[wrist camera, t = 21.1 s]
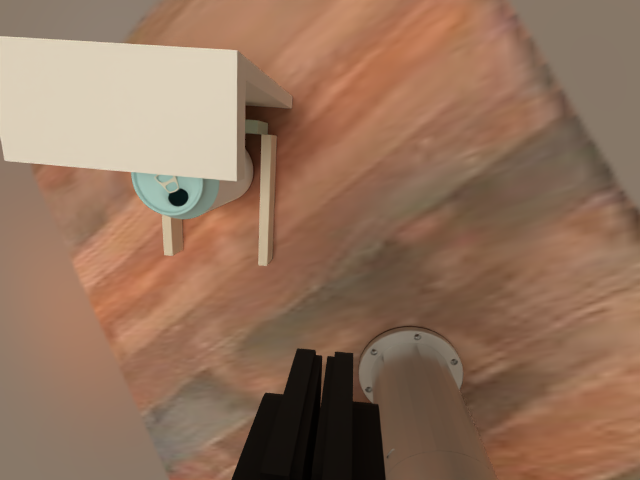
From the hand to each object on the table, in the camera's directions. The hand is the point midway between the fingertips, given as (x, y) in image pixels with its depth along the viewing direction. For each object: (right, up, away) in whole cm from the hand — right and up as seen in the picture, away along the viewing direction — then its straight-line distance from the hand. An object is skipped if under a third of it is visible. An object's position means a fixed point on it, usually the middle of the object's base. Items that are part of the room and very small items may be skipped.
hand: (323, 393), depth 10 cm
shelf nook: (-11, +12, +27) cm, 32 cm away
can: (-11, +13, +27) cm, 32 cm away
